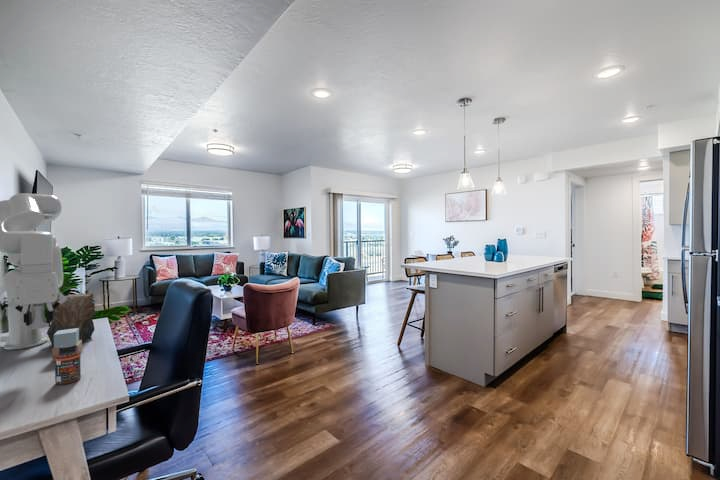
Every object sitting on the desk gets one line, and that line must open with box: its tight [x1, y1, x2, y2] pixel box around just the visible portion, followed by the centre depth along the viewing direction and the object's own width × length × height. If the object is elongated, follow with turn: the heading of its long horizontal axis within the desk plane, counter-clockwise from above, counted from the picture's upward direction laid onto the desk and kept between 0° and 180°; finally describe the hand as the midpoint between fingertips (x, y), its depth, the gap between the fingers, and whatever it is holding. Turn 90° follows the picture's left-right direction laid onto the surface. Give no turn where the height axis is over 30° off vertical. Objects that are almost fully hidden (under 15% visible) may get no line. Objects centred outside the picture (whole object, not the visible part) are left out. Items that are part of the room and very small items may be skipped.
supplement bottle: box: [54, 343, 82, 386], centre depth 99 cm, size 6×6×11 cm
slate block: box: [53, 328, 79, 349], centre depth 118 cm, size 6×6×5 cm
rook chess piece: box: [30, 303, 50, 329], centre depth 107 cm, size 4×4×8 cm
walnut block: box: [52, 340, 83, 363], centre depth 119 cm, size 7×7×5 cm
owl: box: [46, 292, 96, 347], centre depth 136 cm, size 13×13×20 cm
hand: (39, 322), depth 107 cm, fingers closed on rook chess piece, 4 cm apart
